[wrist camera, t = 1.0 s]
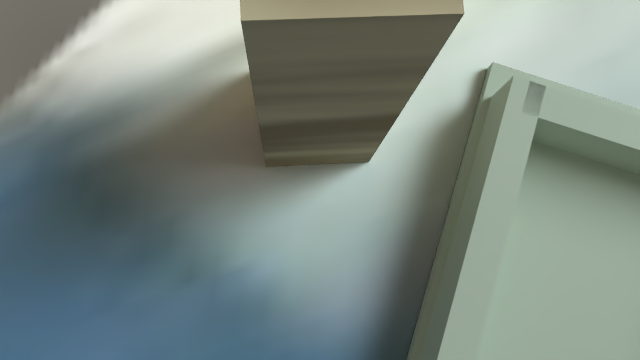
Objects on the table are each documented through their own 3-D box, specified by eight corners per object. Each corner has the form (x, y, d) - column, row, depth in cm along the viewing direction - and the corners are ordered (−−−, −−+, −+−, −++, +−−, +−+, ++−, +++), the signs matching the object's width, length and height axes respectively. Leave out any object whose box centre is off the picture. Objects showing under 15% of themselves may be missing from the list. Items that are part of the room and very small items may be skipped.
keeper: (706, 517, 22) (771, 553, 19) (390, 415, 22) (406, 435, 19) (771, 158, 25) (836, 140, 22) (488, 67, 25) (515, 37, 22)
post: (369, 161, 24) (464, 13, 11) (266, 166, 24) (240, 20, 11) (361, 63, 24) (443, -183, 12) (261, 67, 24) (232, -180, 11)
